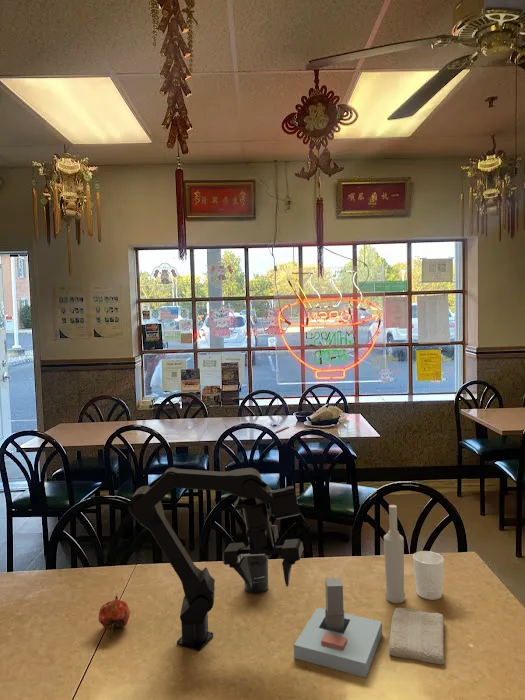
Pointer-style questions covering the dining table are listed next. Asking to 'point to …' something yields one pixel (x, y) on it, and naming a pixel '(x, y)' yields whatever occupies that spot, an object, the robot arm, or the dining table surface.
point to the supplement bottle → (258, 573)
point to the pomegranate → (114, 614)
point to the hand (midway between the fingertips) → (269, 586)
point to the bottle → (394, 560)
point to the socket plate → (339, 643)
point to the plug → (334, 605)
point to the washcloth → (417, 635)
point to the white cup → (428, 574)
